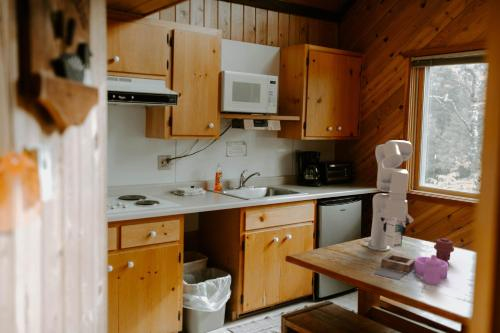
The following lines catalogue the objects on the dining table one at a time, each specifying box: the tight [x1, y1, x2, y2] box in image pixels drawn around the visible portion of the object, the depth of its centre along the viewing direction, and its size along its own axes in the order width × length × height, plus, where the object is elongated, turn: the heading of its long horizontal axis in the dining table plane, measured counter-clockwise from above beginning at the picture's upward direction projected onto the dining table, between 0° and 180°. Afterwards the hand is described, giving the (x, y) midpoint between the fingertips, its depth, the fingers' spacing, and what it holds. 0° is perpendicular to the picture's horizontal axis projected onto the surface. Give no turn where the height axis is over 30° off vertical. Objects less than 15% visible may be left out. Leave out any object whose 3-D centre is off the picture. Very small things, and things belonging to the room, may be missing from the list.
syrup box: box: [385, 217, 404, 249], centre depth 233 cm, size 6×6×14 cm
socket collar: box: [380, 253, 415, 274], centre depth 247 cm, size 14×14×4 cm
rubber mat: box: [373, 267, 407, 281], centre depth 235 cm, size 12×12×1 cm
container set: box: [413, 254, 449, 286], centre depth 233 cm, size 25×15×13 cm, turn 161°
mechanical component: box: [433, 237, 455, 263], centre depth 260 cm, size 12×10×10 cm
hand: (394, 232), depth 233 cm, fingers closed on syrup box, 7 cm apart
